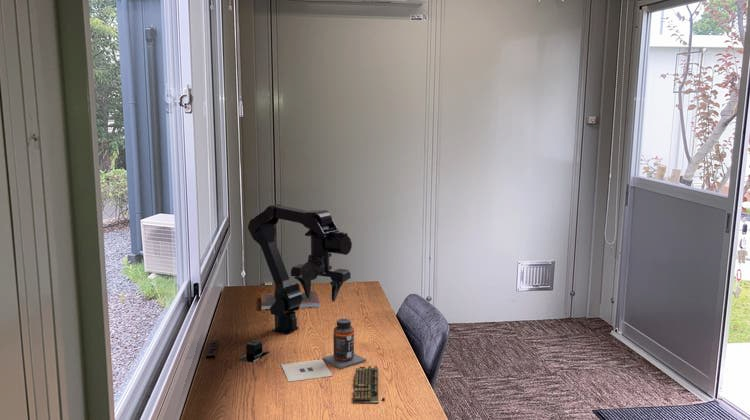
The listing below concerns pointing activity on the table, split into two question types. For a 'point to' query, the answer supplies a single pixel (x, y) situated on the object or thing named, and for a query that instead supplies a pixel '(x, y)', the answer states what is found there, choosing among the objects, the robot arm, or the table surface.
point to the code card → (306, 370)
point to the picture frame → (312, 301)
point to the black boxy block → (253, 351)
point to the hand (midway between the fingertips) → (320, 299)
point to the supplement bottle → (343, 340)
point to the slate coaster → (344, 364)
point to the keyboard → (366, 386)
